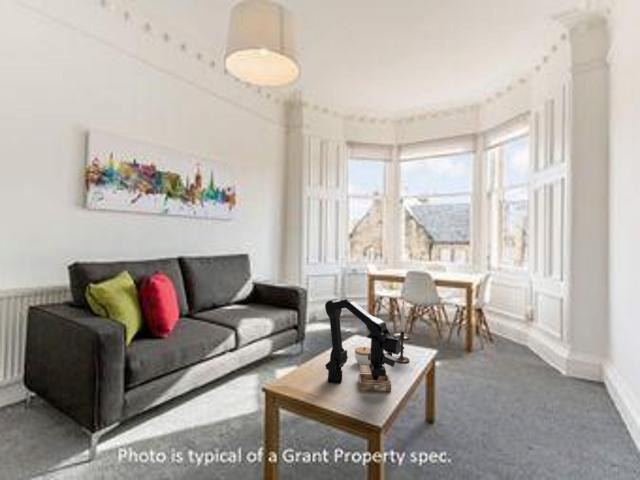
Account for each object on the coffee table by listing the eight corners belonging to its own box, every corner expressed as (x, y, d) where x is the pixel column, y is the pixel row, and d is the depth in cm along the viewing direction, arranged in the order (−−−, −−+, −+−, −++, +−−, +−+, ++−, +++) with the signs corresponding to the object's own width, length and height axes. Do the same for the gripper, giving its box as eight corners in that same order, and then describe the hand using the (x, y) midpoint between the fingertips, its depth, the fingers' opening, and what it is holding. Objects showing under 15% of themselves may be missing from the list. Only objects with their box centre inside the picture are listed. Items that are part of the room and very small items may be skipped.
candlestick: (413, 364, 196) (415, 302, 195) (393, 363, 196) (395, 301, 195) (408, 357, 207) (410, 298, 206) (390, 356, 207) (392, 297, 206)
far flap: (360, 364, 177) (360, 365, 177) (360, 372, 173) (360, 372, 173) (384, 366, 177) (384, 366, 177) (386, 373, 172) (386, 374, 172)
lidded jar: (351, 365, 192) (351, 348, 192) (358, 359, 202) (359, 342, 202) (369, 369, 188) (370, 351, 187) (376, 362, 197) (376, 346, 197)
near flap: (362, 382, 161) (362, 382, 161) (362, 379, 157) (362, 380, 157) (389, 383, 160) (389, 384, 160) (390, 381, 156) (390, 381, 156)
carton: (359, 390, 161) (359, 383, 161) (358, 380, 173) (358, 373, 172) (391, 392, 161) (391, 384, 161) (388, 381, 172) (388, 374, 172)
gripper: (398, 358, 149) (397, 393, 150) (391, 342, 167) (390, 373, 169) (372, 356, 149) (370, 392, 151) (368, 340, 168) (367, 372, 169)
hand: (375, 382), depth 160 cm, fingers closed, pressing on near flap
